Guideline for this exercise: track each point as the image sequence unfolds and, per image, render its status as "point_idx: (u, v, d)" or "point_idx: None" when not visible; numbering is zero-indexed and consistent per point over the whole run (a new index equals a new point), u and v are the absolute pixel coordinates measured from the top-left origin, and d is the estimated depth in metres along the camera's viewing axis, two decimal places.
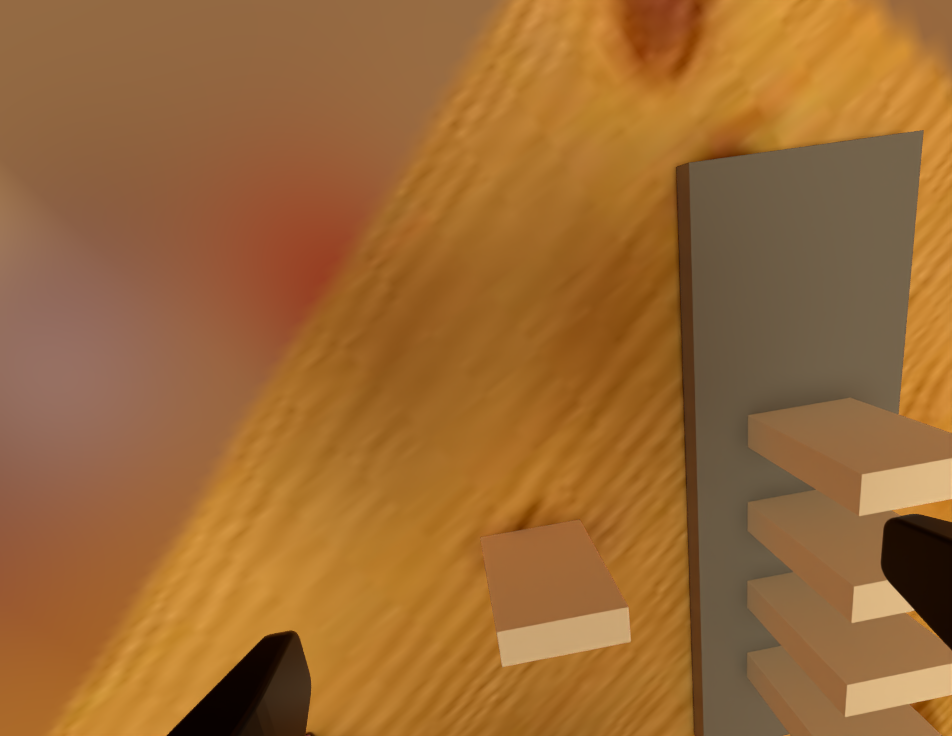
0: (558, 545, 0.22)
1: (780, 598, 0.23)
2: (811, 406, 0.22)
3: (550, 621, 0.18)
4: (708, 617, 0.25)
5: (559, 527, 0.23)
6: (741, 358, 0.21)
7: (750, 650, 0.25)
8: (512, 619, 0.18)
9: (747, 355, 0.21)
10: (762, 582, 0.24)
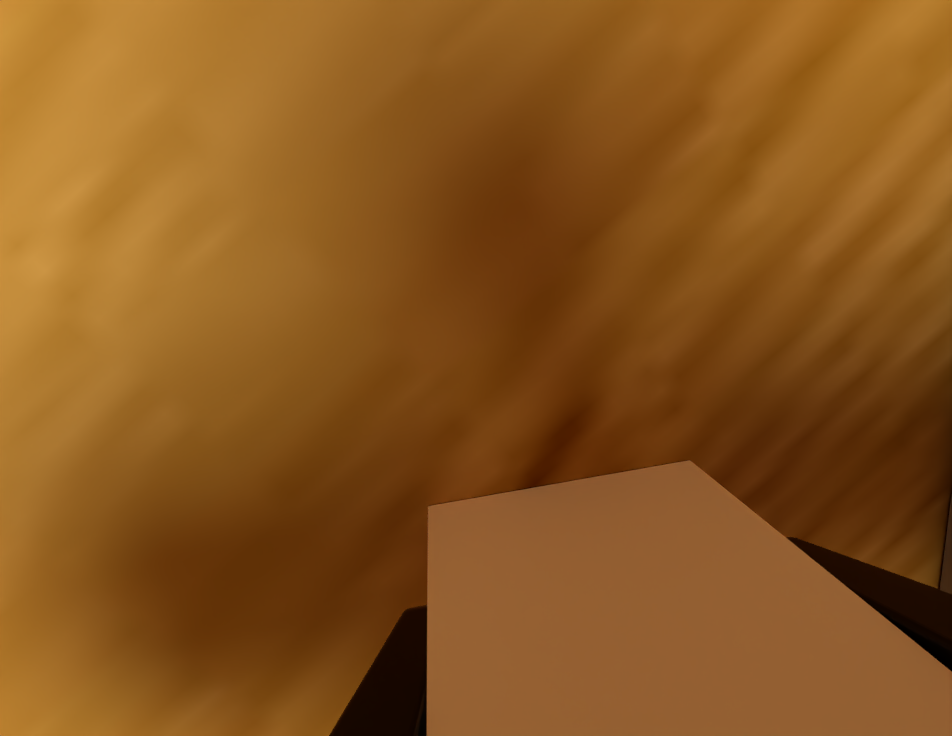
0: (650, 523, 0.07)
1: None
2: None
3: None
4: None
5: (640, 479, 0.09)
6: None
7: None
8: None
9: None
10: None
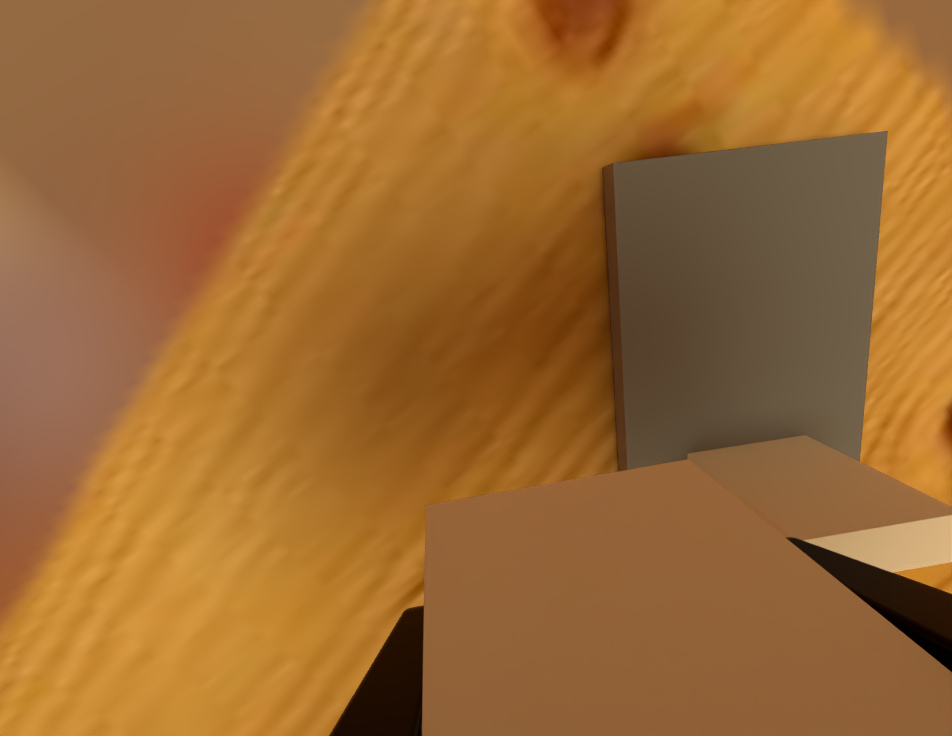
0: (648, 523, 0.07)
1: None
2: (759, 445, 0.19)
3: None
4: None
5: (638, 478, 0.09)
6: (678, 389, 0.19)
7: None
8: None
9: (685, 386, 0.19)
10: None
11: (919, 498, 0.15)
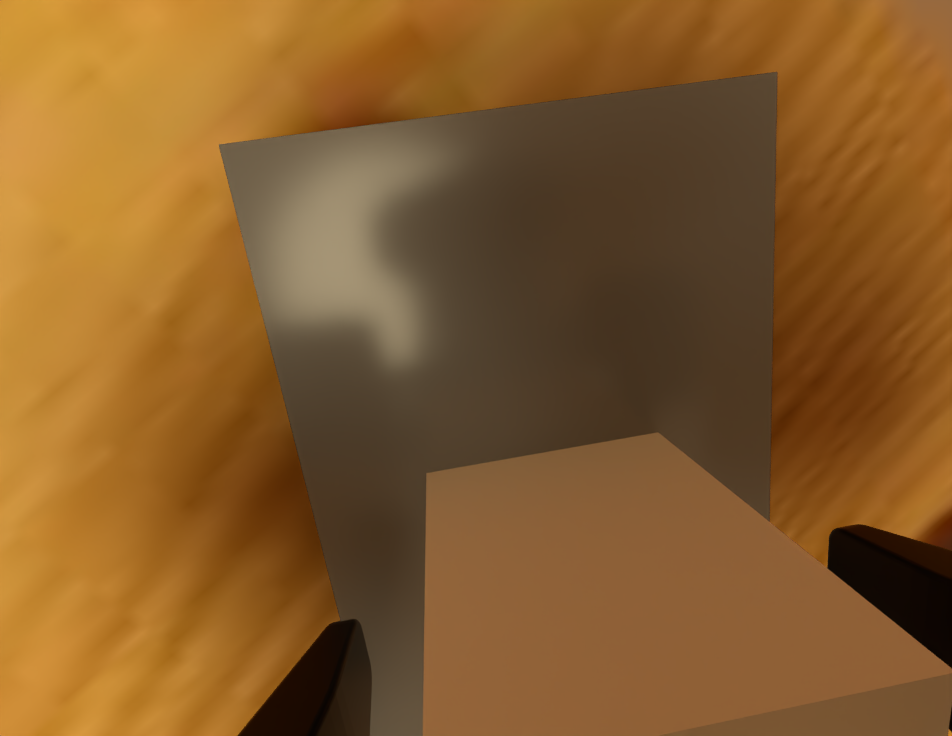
0: (618, 482, 0.09)
1: None
2: None
3: None
4: None
5: (613, 448, 0.10)
6: None
7: None
8: (491, 718, 0.05)
9: None
10: None
11: None
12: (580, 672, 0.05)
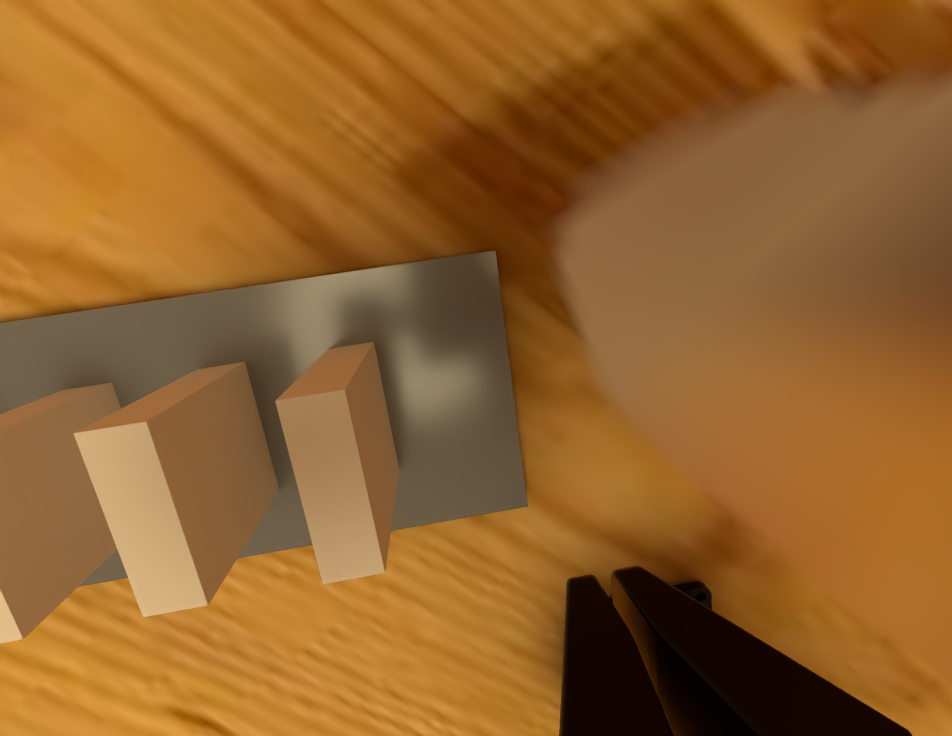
0: None
1: None
2: None
3: None
4: (297, 537, 0.18)
5: None
6: None
7: None
8: None
9: None
10: None
11: None
12: None
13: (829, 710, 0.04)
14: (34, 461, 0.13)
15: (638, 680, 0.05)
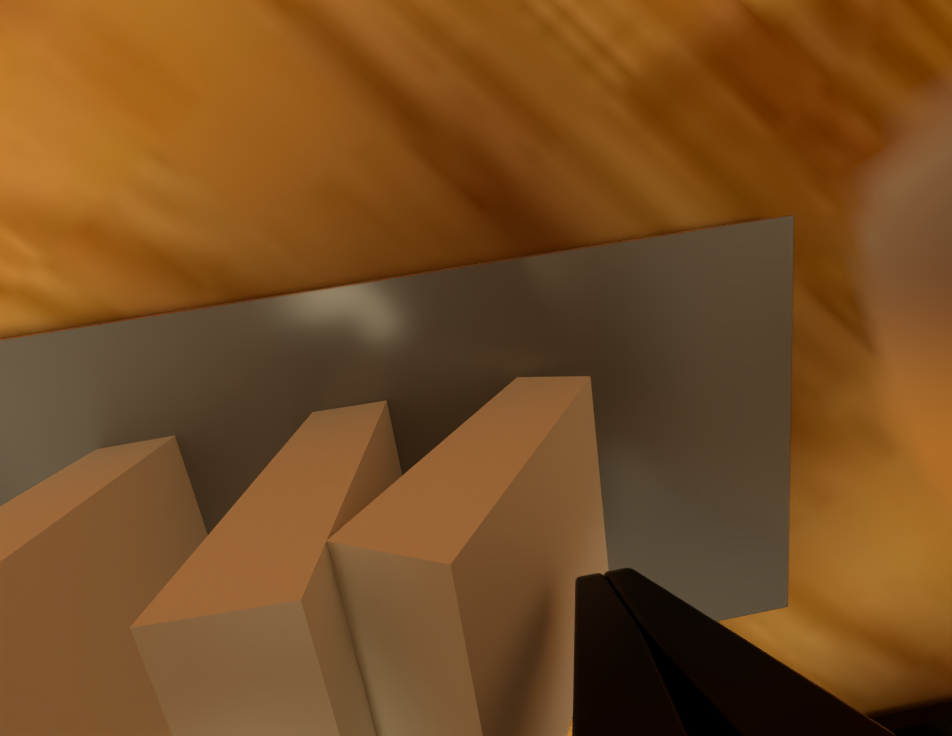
0: None
1: None
2: None
3: None
4: None
5: None
6: None
7: None
8: None
9: None
10: None
11: None
12: None
13: (815, 713, 0.04)
14: (56, 617, 0.07)
15: (650, 678, 0.05)
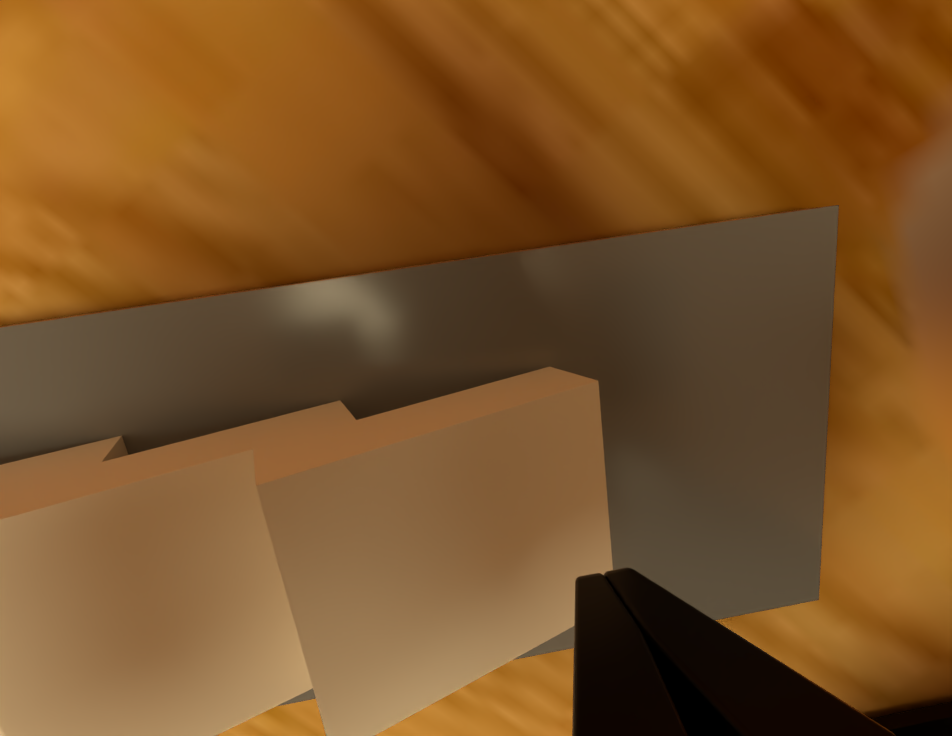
0: None
1: None
2: None
3: None
4: None
5: None
6: None
7: None
8: None
9: None
10: None
11: None
12: None
13: (815, 713, 0.04)
14: None
15: (650, 678, 0.05)
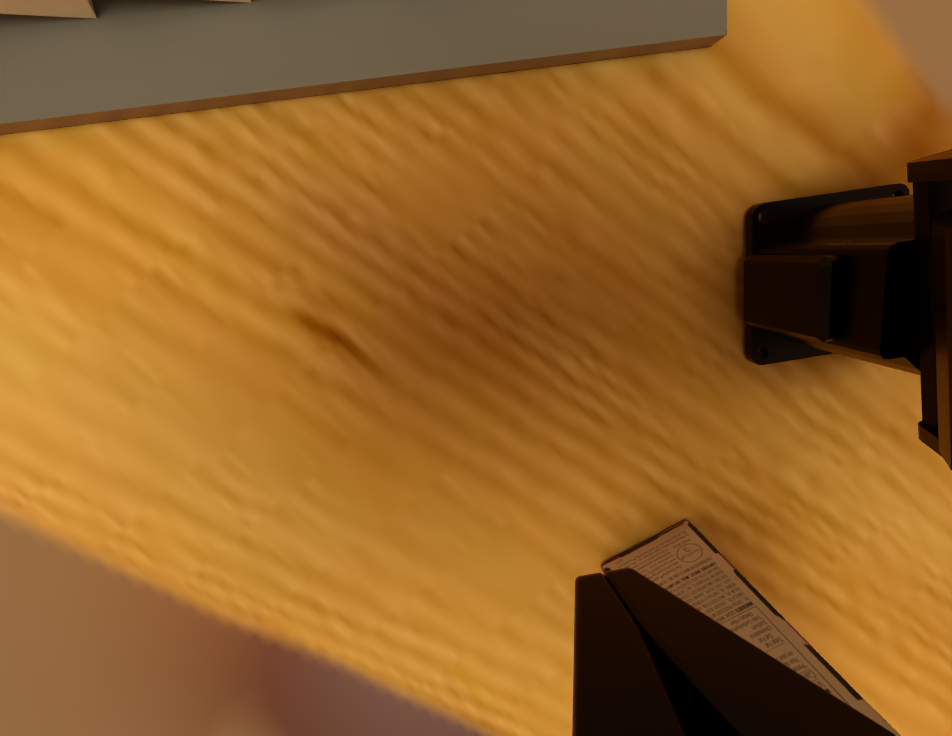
0: None
1: None
2: None
3: None
4: (466, 52, 0.16)
5: None
6: (23, 41, 0.15)
7: None
8: None
9: (16, 30, 0.15)
10: None
11: None
12: None
13: (815, 713, 0.04)
14: None
15: (649, 677, 0.05)
